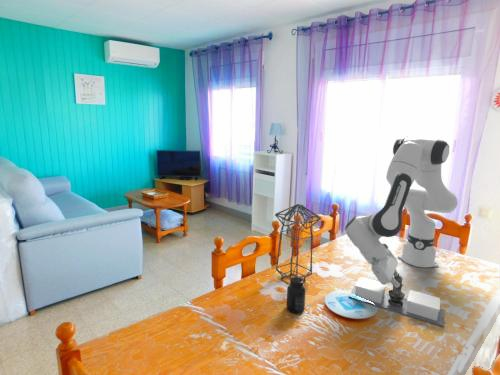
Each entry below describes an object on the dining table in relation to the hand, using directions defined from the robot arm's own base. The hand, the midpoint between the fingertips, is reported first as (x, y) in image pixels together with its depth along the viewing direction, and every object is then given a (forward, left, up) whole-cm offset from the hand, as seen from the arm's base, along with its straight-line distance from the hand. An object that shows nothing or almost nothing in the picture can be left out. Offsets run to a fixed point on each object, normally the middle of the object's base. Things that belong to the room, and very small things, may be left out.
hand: (399, 283), depth 122 cm
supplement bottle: (+26, -32, -9) cm, 42 cm away
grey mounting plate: (0, -1, -9) cm, 9 cm away
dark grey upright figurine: (0, 0, -8) cm, 8 cm away
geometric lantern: (+5, -42, -9) cm, 43 cm away
